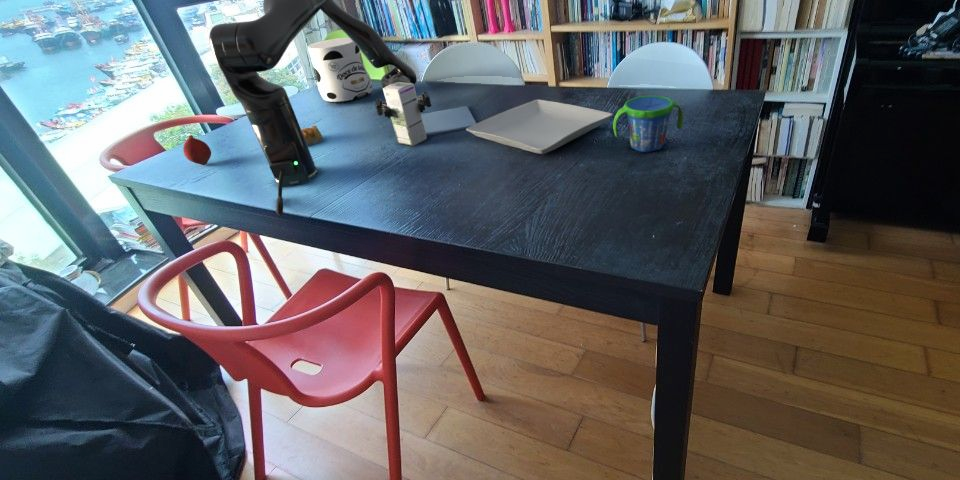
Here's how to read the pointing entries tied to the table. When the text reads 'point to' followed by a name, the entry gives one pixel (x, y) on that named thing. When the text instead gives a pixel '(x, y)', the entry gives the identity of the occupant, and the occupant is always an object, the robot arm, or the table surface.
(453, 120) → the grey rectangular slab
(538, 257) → the table surface
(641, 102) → the snack cup
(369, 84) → the doce de leite tin
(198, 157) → the onion
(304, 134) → the pastry
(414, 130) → the syrup box
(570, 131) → the square plate
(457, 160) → the table surface
